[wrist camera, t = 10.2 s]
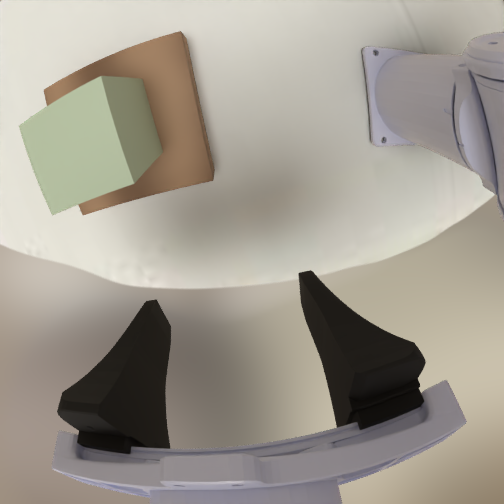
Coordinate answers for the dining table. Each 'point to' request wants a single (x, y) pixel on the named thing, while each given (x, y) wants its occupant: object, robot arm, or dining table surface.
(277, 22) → the dining table surface
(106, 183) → the sage block
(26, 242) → the dining table surface
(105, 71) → the walnut pad
